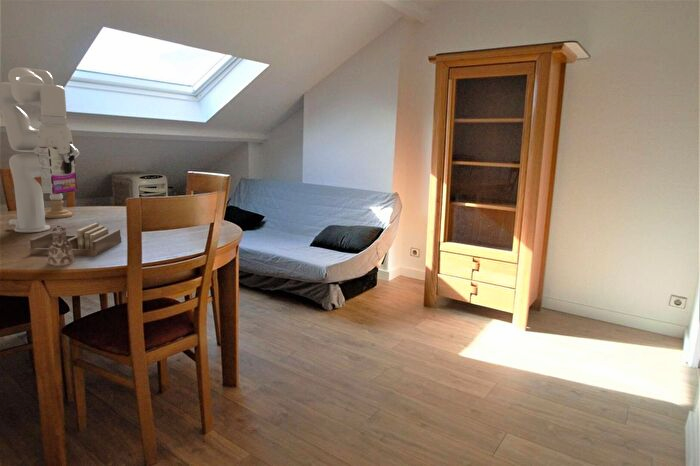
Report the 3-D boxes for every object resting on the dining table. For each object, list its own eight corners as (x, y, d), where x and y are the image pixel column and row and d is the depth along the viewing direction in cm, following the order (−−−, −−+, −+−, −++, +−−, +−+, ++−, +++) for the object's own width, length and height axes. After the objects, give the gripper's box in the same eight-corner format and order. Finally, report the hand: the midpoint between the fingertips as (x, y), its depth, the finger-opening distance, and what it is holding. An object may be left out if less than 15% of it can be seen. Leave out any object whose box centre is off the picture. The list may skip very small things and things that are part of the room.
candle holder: (62, 219, 221) (59, 176, 217) (36, 217, 221) (32, 175, 217) (77, 214, 233) (75, 174, 229) (53, 213, 233) (50, 172, 229)
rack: (30, 254, 161) (28, 240, 160) (63, 239, 183) (62, 227, 182) (95, 256, 163) (95, 242, 162) (121, 241, 185) (120, 229, 184)
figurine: (46, 266, 149) (43, 229, 146) (50, 260, 155) (47, 224, 153) (72, 264, 152) (69, 228, 149) (75, 259, 158) (72, 224, 156)
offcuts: (78, 252, 166) (76, 230, 164) (96, 243, 180) (94, 222, 178) (94, 252, 167) (92, 230, 165) (110, 243, 180) (109, 223, 179)
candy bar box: (66, 190, 175) (62, 145, 171) (77, 191, 174) (74, 146, 170) (40, 193, 164) (37, 146, 160) (53, 194, 163) (49, 147, 159)
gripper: (22, 119, 159) (26, 172, 163) (74, 123, 161) (78, 175, 164) (34, 120, 166) (39, 171, 170) (85, 123, 168) (88, 173, 172)
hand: (58, 172), depth 167 cm, fingers closed on candy bar box, 5 cm apart
